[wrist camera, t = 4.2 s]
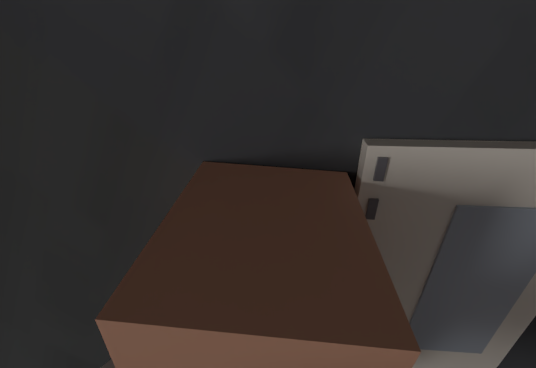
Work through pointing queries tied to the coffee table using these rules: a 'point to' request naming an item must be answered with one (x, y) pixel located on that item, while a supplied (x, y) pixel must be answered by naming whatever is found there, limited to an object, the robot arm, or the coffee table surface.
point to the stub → (260, 279)
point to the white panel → (455, 241)
